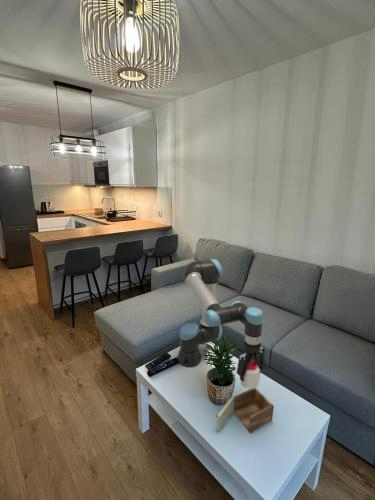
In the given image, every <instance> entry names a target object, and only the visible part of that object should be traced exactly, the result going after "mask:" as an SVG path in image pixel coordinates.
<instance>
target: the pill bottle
mask: <svg viewBox="0 0 375 500" xmlns="http://www.w3.org/2000/svg"><path fill="white" fill-rule="evenodd" d="M245 375H246V387H245V388H246V389H248V390H249V389H255V388H257V389H258V386H259V383H260V382H259V381H260V379H259V367H258V366H257V362H256V361H255V360H254V359H253V360H251V363H249V366H248V368H247V371H246V373H245Z"/></svg>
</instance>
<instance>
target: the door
mask: <svg viewBox="0 0 375 500" xmlns="http://www.w3.org/2000/svg"><path fill="white" fill-rule="evenodd" d="M233 403H234V397H232V396H231V397H230V398H228V400H227V402H226V403H225V405H224V406H223V407H222V409H221V410H220V411H219V412H218V413H216V415H215V417H216V419H217V420H216V431H217V432H220V431H221V430H222V429H223V427H224V425H225V424H226V422H227V420H229V418H230V417H231V415H232V414H233Z"/></svg>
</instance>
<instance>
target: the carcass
mask: <svg viewBox="0 0 375 500" xmlns="http://www.w3.org/2000/svg"><path fill="white" fill-rule="evenodd" d="M274 406H275V405H273V403H271V401H269V400H268V399H267V398H266V396H264V394H263V393H262V392H261V391H260V390H259V389H258V387H257V388H255V389H249V388H248V390H245V391H243V392H242V393H240V394H237V395H235V396H233V411H232V413H234V415H235V416H236V417H237V418H238V419H239V421H240V422H241V423H242V424H243V425H244V427H245V428H246V430H247V431H248V432H249V434H251V433H253V432H255V431H256V430H259V429H260V428H262V427H264V426H265V425H268V423H271V422H272V421H273V415H274Z"/></svg>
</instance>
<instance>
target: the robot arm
mask: <svg viewBox="0 0 375 500" xmlns="http://www.w3.org/2000/svg"><path fill="white" fill-rule="evenodd" d="M182 274H183V275H182V277H183V281H184V282H185V284H186V286H188V287H190V289H191V291H192V292H193V294H194V295H195V297H196V299H197V301H198V302H199V304H200V305H201V309H202V311H201V312H202V318H201V319H200V321H199V323H200V324H197V323H195V322H189V323H186V324H183V325H182V326H181V328H180V330H179V331H180V332H179V338H180V339H179V344H180V345H179V348H180V349H179V351H178V354H177V360H178V359H179V362H180V363H179V362H178V363H179V365H180V366H183V367H186V368H193V367H197V366H198V365H200V363H201V362H202V354H201V351H200V348H199V346H200V345H203V344H208V343H211V342H216V341H219V340H220V339H221V338H222V335H223V328H222V325H226V324H227V325H228V324H233V323H235V322H240V323H242V324H243V325H244V336H243V337H244V339H243V349H244V352H243V353H242V354H239V355H238V363H237V368H236V374H237V375H238V376H239V380H240V385H241V386H242V387H243V388H246V375H245V373H246V371H247V368H248V366H249V363H251V360H254V361H256V362H257V366H258V367H259V380H260V375H261V371H262V370H263V368H264V367H265V365H266V364H265V352H266V351H265V348H263V347H262V335H263V334H262V331H263V323H264V318H263V317H264V315H263V314H264V313H263V310H261V309H260V308H257V307H254V306H253V307H251V306H250V307H249V306H247V305H246V304H245V303H243V302H242V301H241V300H235V301H233V302H231V303H230V306H224V307H222V306H221V305H220V304H219V302H218V300H217V284H218V283H219V281H220V280H219V279H220V278H222V276H223V267H222V265H221V263H220V262H219V260H218V259H215V258H213V259H211V258H209V259H204V260H202V259H201V260H196V261H195V260H194V261H192V262H190V263H188V264H187V265H186V266H185V269H184V271H183V273H182Z"/></svg>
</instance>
